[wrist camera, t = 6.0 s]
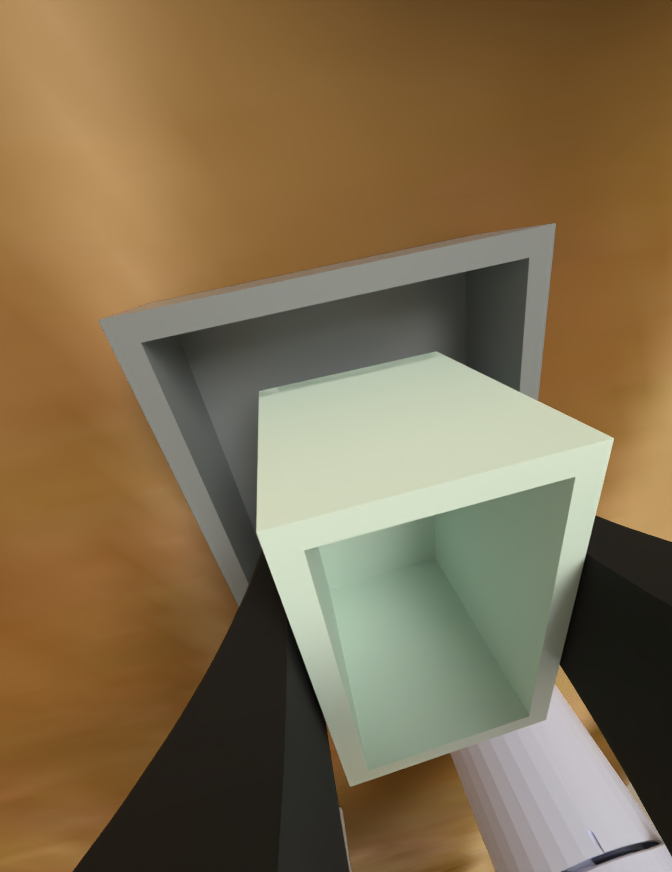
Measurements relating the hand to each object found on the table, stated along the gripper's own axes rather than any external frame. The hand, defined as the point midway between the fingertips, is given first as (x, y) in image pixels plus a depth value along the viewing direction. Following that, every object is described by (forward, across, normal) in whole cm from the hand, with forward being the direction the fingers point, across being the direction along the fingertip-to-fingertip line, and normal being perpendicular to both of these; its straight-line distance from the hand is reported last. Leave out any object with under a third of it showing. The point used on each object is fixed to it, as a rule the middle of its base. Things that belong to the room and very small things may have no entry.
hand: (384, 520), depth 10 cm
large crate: (+4, 0, 0) cm, 4 cm away
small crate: (+2, 0, 0) cm, 2 cm away
